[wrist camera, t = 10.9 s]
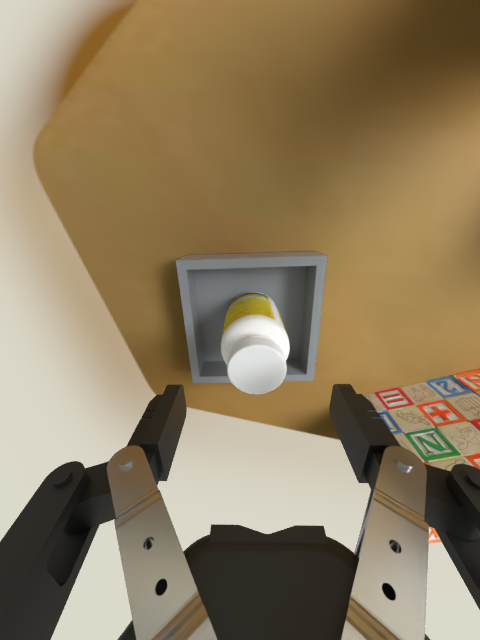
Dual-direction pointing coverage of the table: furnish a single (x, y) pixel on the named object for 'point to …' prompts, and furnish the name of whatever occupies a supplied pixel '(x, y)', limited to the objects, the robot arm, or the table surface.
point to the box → (251, 276)
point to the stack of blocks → (435, 421)
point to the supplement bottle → (254, 344)
